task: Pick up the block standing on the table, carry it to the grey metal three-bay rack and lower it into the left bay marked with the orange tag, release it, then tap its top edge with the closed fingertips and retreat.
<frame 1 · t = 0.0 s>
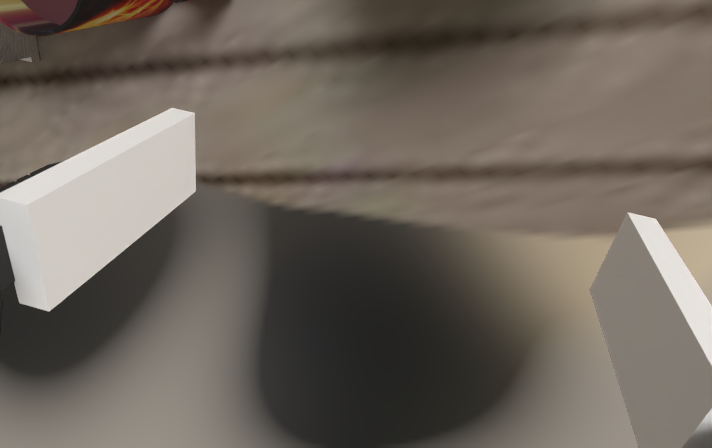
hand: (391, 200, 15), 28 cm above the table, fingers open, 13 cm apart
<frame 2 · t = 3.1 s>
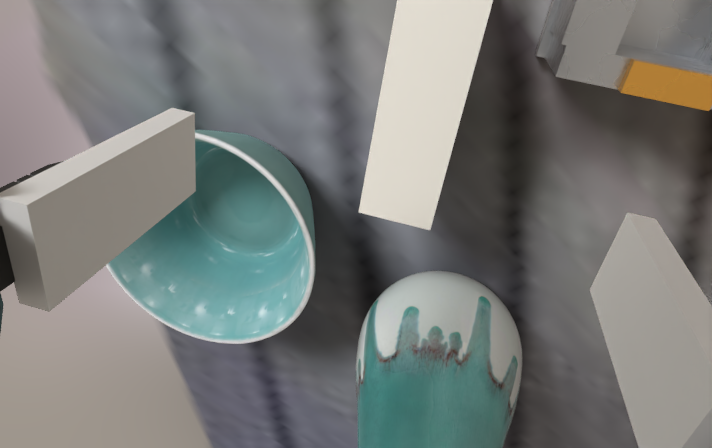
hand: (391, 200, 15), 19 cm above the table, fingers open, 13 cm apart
bowl: (249, 194, 39), on the table
vase: (443, 310, 40), on the table
block: (434, 75, 32), on the table
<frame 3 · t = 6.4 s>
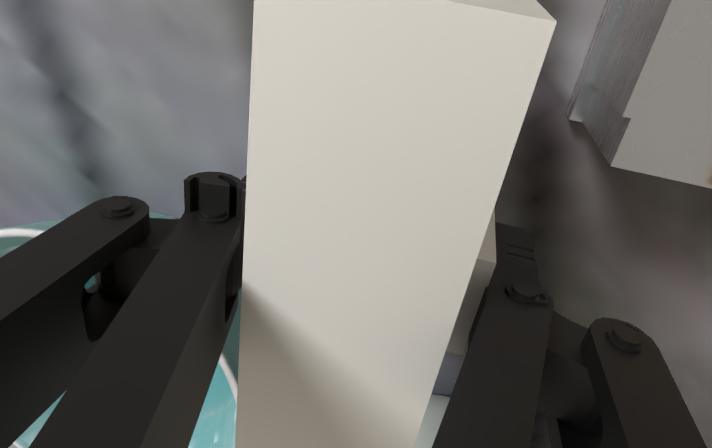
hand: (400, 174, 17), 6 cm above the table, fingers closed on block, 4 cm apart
bowl: (181, 284, 30), on the table
vase: (437, 435, 30), on the table
block: (404, 160, 17), point 5 cm above the table, touching gripper
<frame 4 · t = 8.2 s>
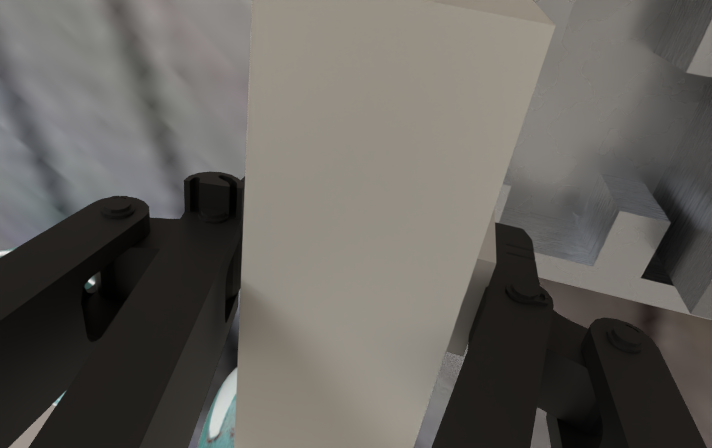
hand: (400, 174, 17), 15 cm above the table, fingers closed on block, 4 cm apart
rack: (572, 101, 29), on the table
vase: (299, 378, 45), on the table
block: (404, 162, 17), point 15 cm above the table, touching gripper
when the fingers open (3 cm above the table, at t = 10.2 s): block drops 1 cm, resting on rack.
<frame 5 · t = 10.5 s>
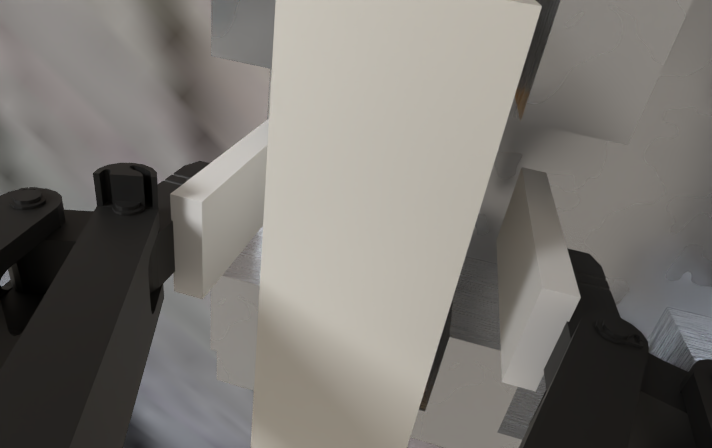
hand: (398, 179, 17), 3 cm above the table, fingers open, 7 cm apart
rack: (624, 196, 18), on the table
block: (408, 151, 18), point 1 cm above the table, touching rack
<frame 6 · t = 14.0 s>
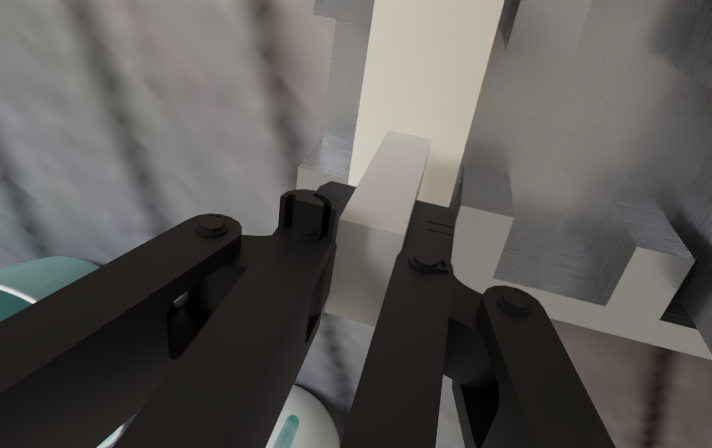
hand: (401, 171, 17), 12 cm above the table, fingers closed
rack: (581, 120, 26), on the table
bowl: (99, 303, 42), on the table
vase: (286, 408, 43), on the table
block: (430, 88, 26), point 1 cm above the table, touching rack
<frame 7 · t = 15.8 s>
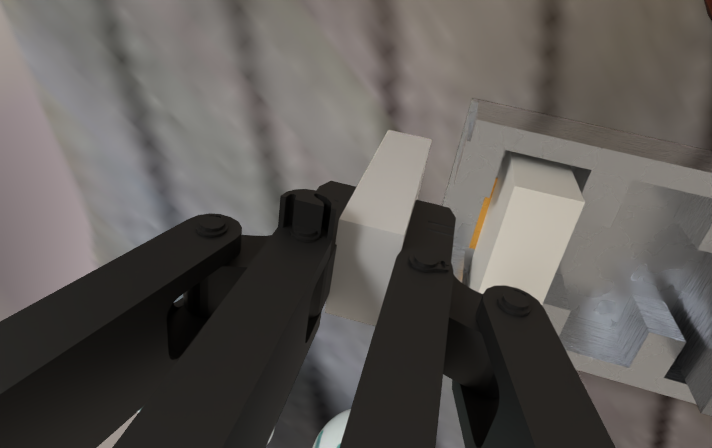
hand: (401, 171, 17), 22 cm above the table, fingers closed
rack: (611, 241, 39), on the table
vase: (375, 429, 55), on the table
block: (512, 218, 39), point 1 cm above the table, touching rack
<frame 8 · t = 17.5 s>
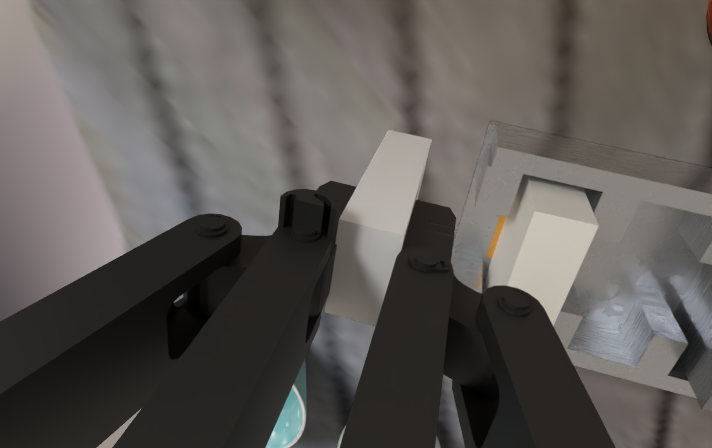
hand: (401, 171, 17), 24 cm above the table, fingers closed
rack: (619, 249, 42), on the table
bowl: (263, 346, 58), on the table
block: (526, 230, 42), point 1 cm above the table, touching rack
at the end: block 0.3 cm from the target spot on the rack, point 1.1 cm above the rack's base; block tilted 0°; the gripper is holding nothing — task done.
